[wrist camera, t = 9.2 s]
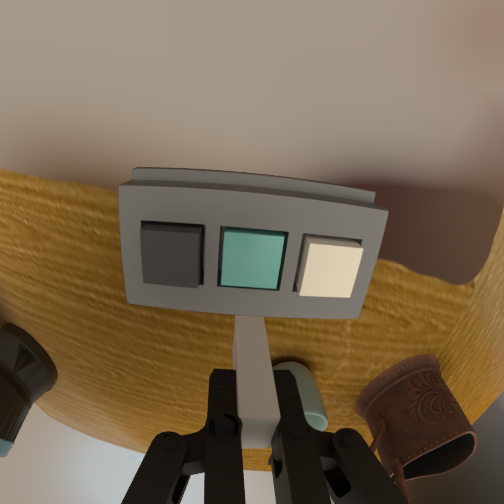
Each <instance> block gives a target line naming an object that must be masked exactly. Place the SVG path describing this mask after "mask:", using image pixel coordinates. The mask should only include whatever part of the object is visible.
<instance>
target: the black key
mask: <svg viewBox="0 0 504 504" xmlns="http://www.w3.org/2000/svg"><path fill="white" fill-rule="evenodd" d="M203 226H204V224H191V223H177V222H162V221H148V222H147V223H146V224H145V225H144V226H143V227H142V228H141V229H140V243H141V260H142V274H143V283H148V284H157V285H166V286H176V287H186V288H197V289H198V285H199V281H200V277H201V274H202V250H203Z"/></svg>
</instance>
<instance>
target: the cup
mask: <svg viewBox="0 0 504 504" xmlns="http://www.w3.org/2000/svg"><path fill="white" fill-rule="evenodd" d="M272 370H290V371H291V372H292V374H293V375H294V376H295V378H296V382H297V387H298V390H299V394H300V398H301V402H302V406H303V410H304V414H305V418H306V420H307V422H308V424H309V425H310V426H312V427H313V428H315V429H317V430H320V431H324V430H325V428H326V427H327V425H328V418H327V414H326V410H325V406H324V402H323V399H322V396H321V392H320V389H319V387H318V384H317V382H316V380H315V378H314V376H313V374H312V373H311V371H310V370H309V369H308V368H307V367H305V366H304V365H302V364H300V363H298V362H293V361H287V362H282V363H279V364H277V365H275V366H273V367H272Z"/></svg>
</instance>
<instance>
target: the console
mask: <svg viewBox="0 0 504 504" xmlns="http://www.w3.org/2000/svg"><path fill="white" fill-rule="evenodd" d="M132 178H133V179H132V180H130V181H128V182H126V183H123V184H121V185H119V222H120V239H121V252H122V262H123V272H124V281H125V288H126V296H127V303H130V304H137V305H144V306H152V307H160V308H169V309H178V310H187V311H198V312H208V313H220V314H233V315H248V316H265V317H287V318H324V319H358V317H359V314H360V311H361V308H362V305H363V302H364V299H365V296H366V293H367V290H368V287H369V284H370V281H371V277H372V274H373V271H374V267H375V264H376V260H377V257H378V253H379V249H380V245H381V241H382V238H383V234H384V230H385V225H386V221H387V217H388V211H387V210H385V209H384V208H382V207H380V206H378V205H377V204H375V203H374V198H375V192H373V191H371V190H366V189H361V188H356V187H350V186H344V185H338V184H332V183H326V182H318V181H313V180H306V179H298V178H290V177H282V176H274V175H265V174H255V173H245V172H233V171H220V170H204V169H187V168H157V167H136V168H133V176H132ZM148 221H162V222H177V223H191V224H204V226H203V250H202V274H201V277H200V281H199V285H198V289H197V288H186V287H176V286H166V285H157V284H148V283H143V274H142V260H141V243H140V229H141V228H142V227H143V226H144V225H145V224H146V223H147V222H148ZM226 226H230V227H242V228H253V229H265V230H276V231H282V232H283V235H284V244H283V250H282V256H281V263H280V269H279V275H278V281H277V287H276V289H272V288H257V287H243V286H230V285H221V278H222V262H223V247H224V233H225V227H226ZM303 233H307V234H317V235H326V236H336V237H345V238H353V239H354V240H355V241H356V242H357V243H358V244H359V245H360V246H361V247H362V248H363V253H362V257H361V261H360V264H359V268H358V272H357V275H356V279H355V282H354V286H353V289H352V292H351V296H350V298H343V297H316V296H299V293H298V290H297V287H296V284H295V282H294V279H295V274H296V269H297V263H298V258H299V252H300V247H301V241H302V235H303Z"/></svg>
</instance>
